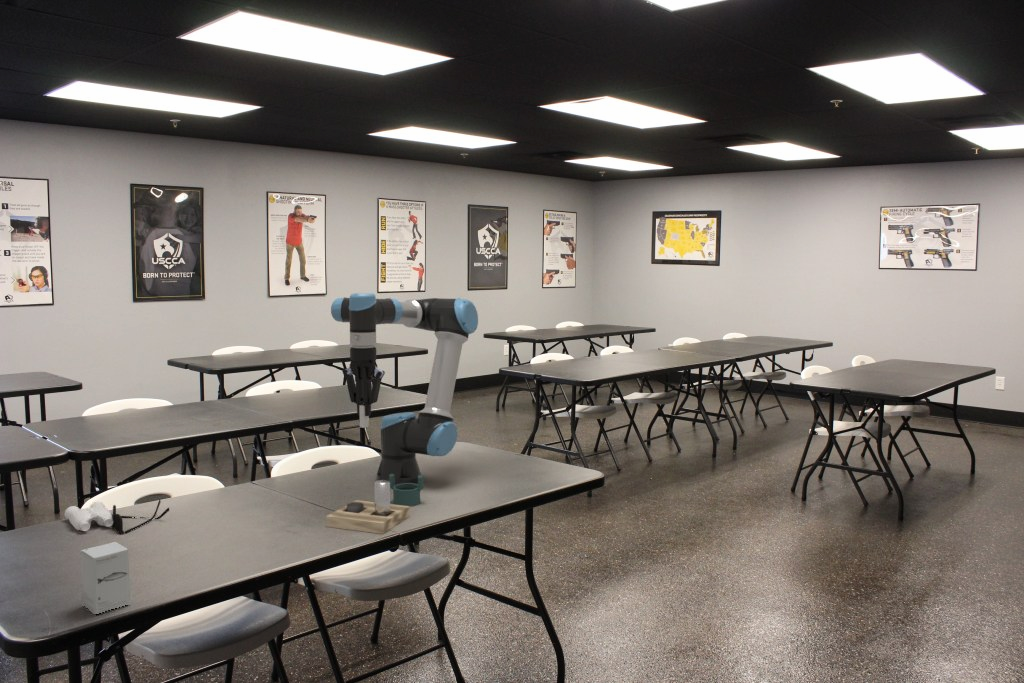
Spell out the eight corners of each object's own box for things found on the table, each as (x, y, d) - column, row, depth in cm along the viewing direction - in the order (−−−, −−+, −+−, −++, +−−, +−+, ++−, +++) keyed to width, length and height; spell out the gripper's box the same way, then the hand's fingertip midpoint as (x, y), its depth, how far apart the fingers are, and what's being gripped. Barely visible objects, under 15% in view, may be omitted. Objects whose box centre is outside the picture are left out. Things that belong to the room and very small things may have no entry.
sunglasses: (173, 527, 217) (172, 509, 216) (116, 536, 209) (115, 519, 209) (162, 511, 231) (162, 495, 230) (109, 519, 223) (108, 503, 223)
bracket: (425, 504, 238) (425, 475, 237) (397, 508, 233) (397, 479, 233) (414, 497, 246) (414, 469, 245) (387, 501, 241) (386, 473, 240)
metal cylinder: (379, 519, 223) (379, 479, 222) (393, 521, 221) (392, 480, 220) (372, 524, 219) (371, 483, 218) (385, 526, 217) (385, 484, 216)
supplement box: (95, 616, 161) (92, 558, 160) (82, 606, 166) (79, 549, 164) (131, 605, 166) (129, 548, 165) (117, 595, 171) (115, 540, 170)
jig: (356, 509, 232) (355, 495, 232) (409, 516, 226) (409, 501, 226) (326, 526, 217) (326, 511, 217) (383, 534, 211) (382, 518, 211)
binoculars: (104, 514, 228) (104, 498, 227) (118, 528, 216) (117, 512, 215) (64, 521, 221) (63, 505, 221) (76, 536, 209) (75, 519, 208)
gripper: (336, 346, 221) (338, 427, 224) (376, 348, 217) (377, 430, 219) (350, 344, 228) (351, 422, 231) (389, 346, 224) (390, 425, 226)
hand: (364, 426), depth 225 cm, fingers closed
